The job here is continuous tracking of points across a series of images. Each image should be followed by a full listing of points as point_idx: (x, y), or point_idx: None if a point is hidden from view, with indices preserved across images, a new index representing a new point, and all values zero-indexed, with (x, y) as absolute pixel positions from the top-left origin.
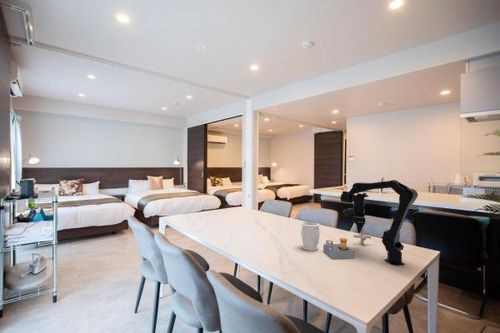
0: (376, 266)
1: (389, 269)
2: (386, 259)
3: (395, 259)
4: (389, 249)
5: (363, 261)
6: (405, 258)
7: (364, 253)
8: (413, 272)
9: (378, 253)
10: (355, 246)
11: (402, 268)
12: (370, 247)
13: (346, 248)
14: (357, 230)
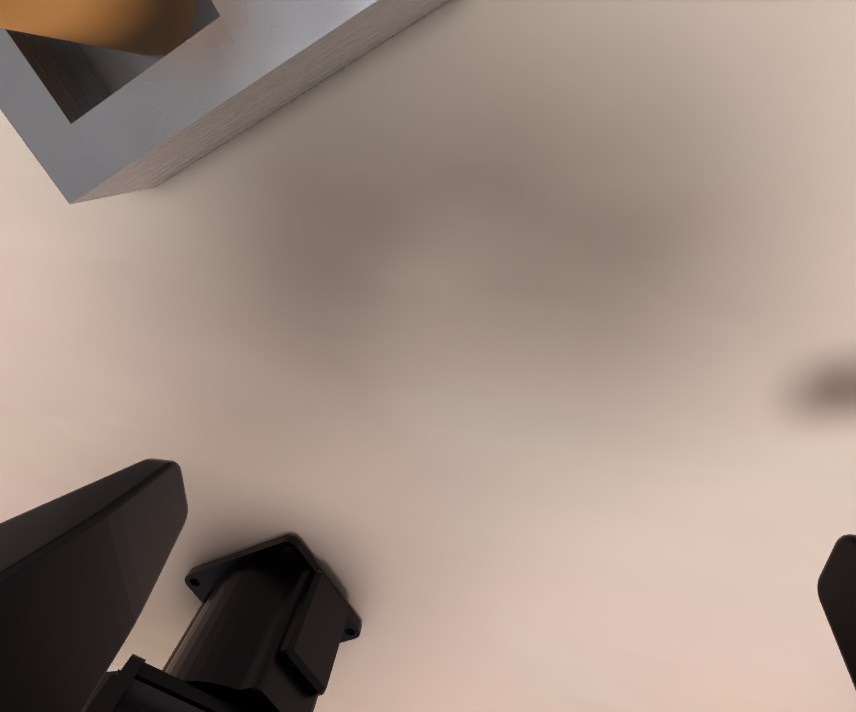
0: (52, 422)
1: None
2: (292, 555)
3: (183, 637)
4: (89, 704)
5: (118, 305)
6: (455, 703)
7: (459, 356)
8: (116, 657)
9: (529, 520)
10: (819, 251)
11: (156, 614)
12: (795, 474)
13: (187, 47)
14: (22, 514)
